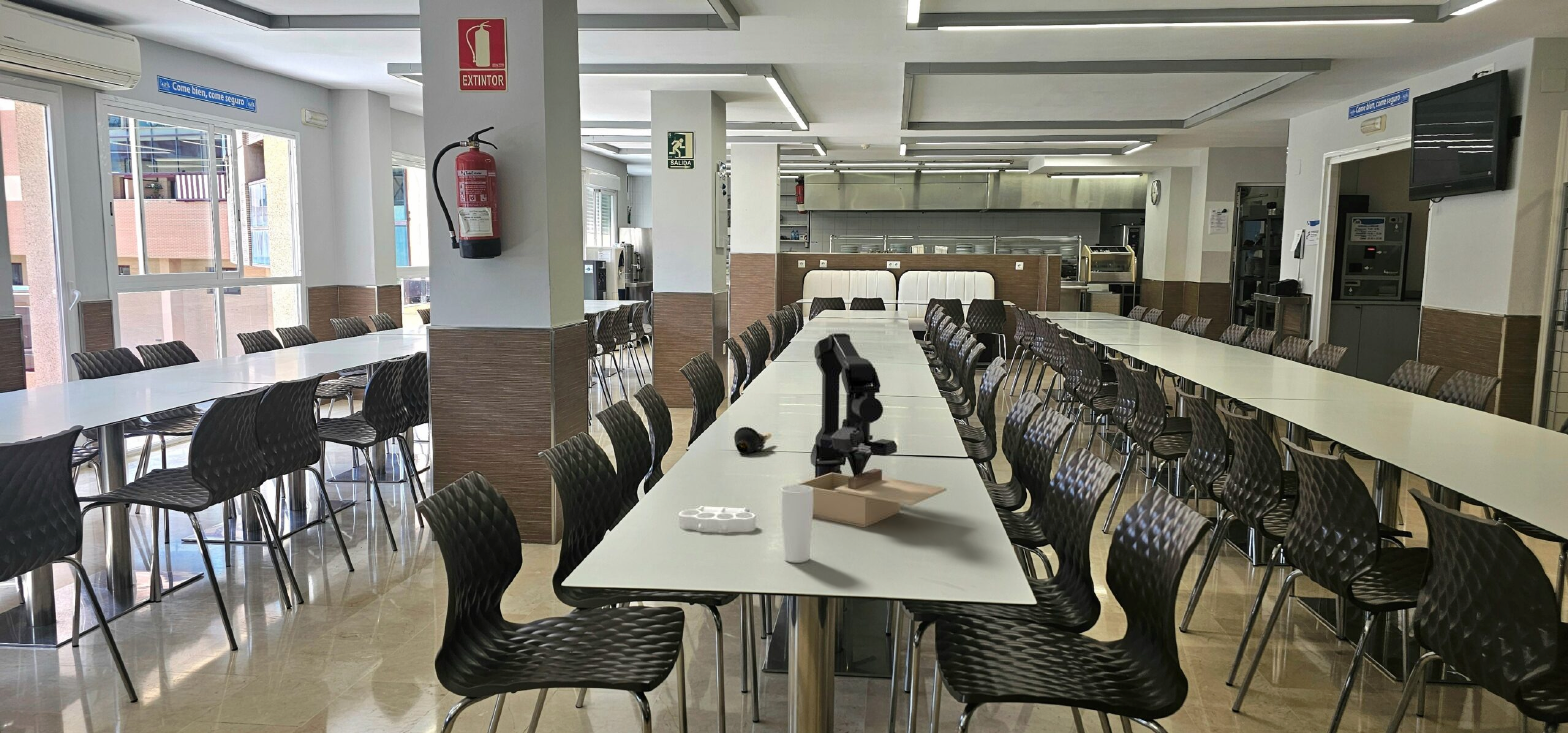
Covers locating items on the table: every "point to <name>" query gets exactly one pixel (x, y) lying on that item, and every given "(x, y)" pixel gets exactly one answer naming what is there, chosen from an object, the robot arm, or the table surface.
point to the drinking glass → (797, 521)
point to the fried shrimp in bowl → (749, 440)
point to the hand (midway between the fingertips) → (857, 478)
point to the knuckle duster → (718, 519)
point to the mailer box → (846, 502)
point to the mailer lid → (888, 488)
